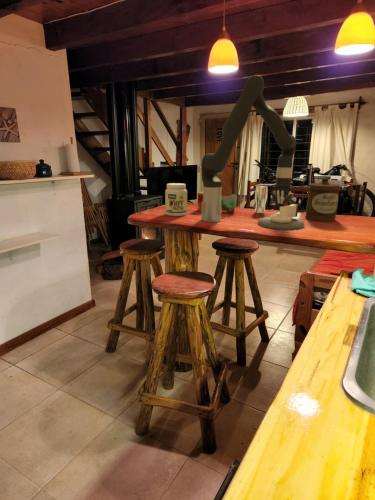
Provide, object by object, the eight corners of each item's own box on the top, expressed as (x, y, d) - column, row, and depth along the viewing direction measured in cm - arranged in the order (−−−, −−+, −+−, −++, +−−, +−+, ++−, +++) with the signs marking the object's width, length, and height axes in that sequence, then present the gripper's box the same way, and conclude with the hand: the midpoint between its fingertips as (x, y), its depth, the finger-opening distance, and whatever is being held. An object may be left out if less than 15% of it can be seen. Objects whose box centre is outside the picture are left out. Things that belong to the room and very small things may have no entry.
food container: (229, 214, 179) (230, 196, 176) (220, 213, 183) (220, 196, 180) (240, 211, 188) (241, 194, 185) (231, 210, 192) (231, 193, 189)
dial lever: (284, 223, 149) (285, 209, 147) (266, 220, 156) (267, 206, 154) (303, 218, 161) (305, 205, 159) (286, 215, 168) (287, 202, 166)
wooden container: (312, 221, 162) (317, 178, 156) (301, 216, 177) (305, 175, 170) (340, 221, 163) (347, 178, 157) (327, 215, 177) (332, 175, 171)
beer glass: (259, 213, 182) (261, 187, 177) (251, 211, 188) (253, 186, 183) (268, 212, 185) (270, 186, 180) (260, 210, 191) (262, 185, 186)
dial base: (271, 230, 143) (272, 227, 143) (250, 220, 164) (250, 217, 163) (313, 228, 149) (314, 224, 148) (287, 218, 169) (288, 215, 169)
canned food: (206, 212, 186) (207, 193, 183) (194, 210, 190) (195, 192, 187) (212, 210, 193) (213, 191, 189) (201, 208, 197) (201, 190, 193)
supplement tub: (166, 216, 173) (165, 185, 168) (164, 212, 184) (164, 183, 179) (188, 216, 174) (188, 185, 169) (185, 212, 186) (185, 182, 181)
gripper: (268, 176, 162) (265, 209, 167) (292, 177, 153) (288, 213, 158) (275, 175, 167) (272, 208, 172) (299, 177, 158) (295, 211, 163)
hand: (280, 210), depth 165 cm, fingers closed
